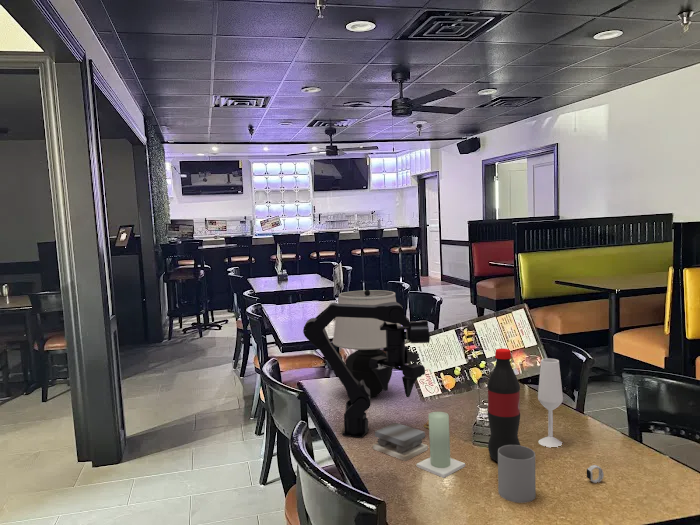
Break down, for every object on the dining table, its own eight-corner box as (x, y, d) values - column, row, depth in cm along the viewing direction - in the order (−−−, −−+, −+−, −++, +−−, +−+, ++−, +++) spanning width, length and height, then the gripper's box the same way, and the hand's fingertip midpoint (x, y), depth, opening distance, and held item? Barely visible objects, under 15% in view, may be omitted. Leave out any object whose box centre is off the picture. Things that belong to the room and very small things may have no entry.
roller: (430, 467, 139) (428, 418, 138) (430, 458, 144) (428, 411, 143) (450, 468, 138) (448, 419, 137) (450, 459, 143) (448, 411, 142)
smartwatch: (600, 479, 131) (600, 463, 131) (605, 483, 129) (605, 467, 129) (586, 480, 131) (585, 464, 131) (591, 484, 129) (590, 468, 129)
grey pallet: (372, 448, 153) (372, 431, 153) (395, 438, 160) (395, 421, 160) (405, 461, 145) (404, 442, 144) (427, 449, 152) (427, 431, 151)
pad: (416, 466, 141) (416, 463, 141) (438, 456, 147) (438, 453, 147) (443, 477, 134) (443, 474, 134) (465, 466, 140) (465, 463, 140)
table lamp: (319, 396, 203) (315, 291, 200) (370, 380, 221) (367, 284, 218) (369, 412, 183) (366, 296, 180) (420, 394, 201) (418, 288, 199)
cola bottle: (521, 454, 147) (520, 346, 145) (520, 467, 139) (519, 353, 137) (489, 450, 150) (488, 344, 148) (486, 463, 142) (485, 352, 140)
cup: (493, 486, 130) (492, 446, 129) (526, 483, 130) (526, 443, 130) (506, 504, 121) (506, 461, 120) (541, 501, 122) (541, 458, 121)
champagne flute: (566, 442, 154) (566, 359, 152) (557, 449, 149) (557, 364, 147) (544, 436, 158) (543, 356, 157) (534, 443, 153) (533, 361, 152)
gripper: (436, 343, 162) (437, 394, 163) (391, 335, 176) (392, 382, 177) (411, 350, 154) (413, 403, 156) (367, 341, 168) (368, 389, 169)
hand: (396, 393), depth 165 cm, fingers open, 9 cm apart
